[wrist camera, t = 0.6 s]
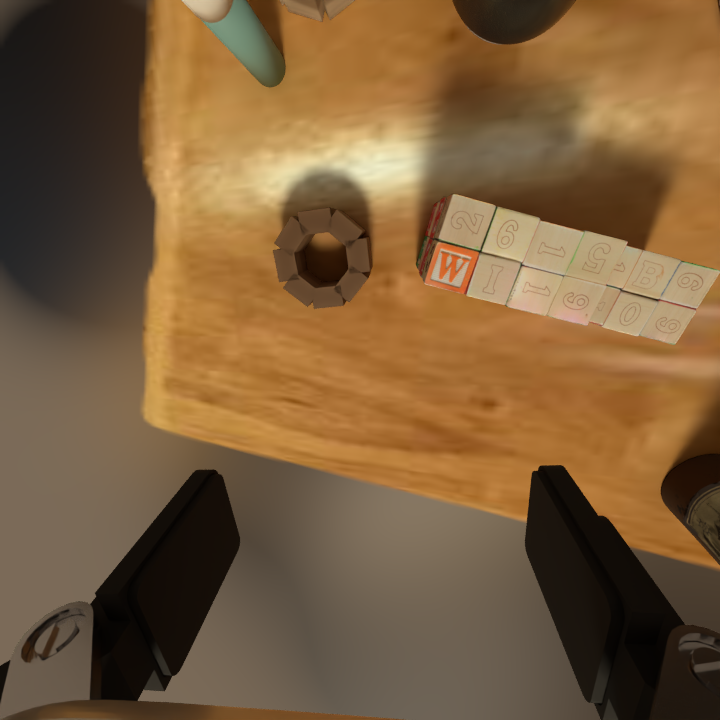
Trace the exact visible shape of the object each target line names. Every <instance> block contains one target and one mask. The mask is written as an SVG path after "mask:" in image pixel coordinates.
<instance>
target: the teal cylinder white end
mask: <svg viewBox="0 0 720 720" xmlns="http://www.w3.org/2000/svg"><path fill="white" fill-rule="evenodd" d="M182 1H183V2H184V3H185V4H186V5H187V7H188V8H189V9H190V10H191V11H192V12H193V13H194V14H195V15H196V16H197V17H198V18H200V19H201V20H202V21H203V22H204V23H205V25H206V26H207V27H208V28H209V29H210V30H211V31H212V32H213V33H214V34H215V35H216V36H217V37H218V38H219V40H220V41H221V42H222V43H223V44H224V45H225V46H226V47H227V48H228V49H229V50H230V51H231V52H232V53H233V54H234V56H235V57H236V58H237V59H238V60H239V61H240V62H241V63H242V64H243V65H244V66H245V67H246V68H247V69H248V71H249V72H250V73H251V74H252V75H253V76H254V77H255V78H256V79H257V80H258V81H259V82H260V83H261V84H262V85H264V86H266V87H274V86H277V85H278V84H279V83H280V82H281V81H282V79H283V77H284V75H285V61H284V58H283V56H282V54H281V53H280V51H279V50H278V48H277V47H276V45H275V44H274V42H273V40H272V39H271V37H270V36H269V34H268V33H267V31H266V30H265V28H264V27H263V25H262V24H261V22H260V21H259V19H258V18H257V16H256V14H255V13H254V11H253V10H252V8H251V7H250V5H249V4H248V2H247V1H246V0H182Z"/></svg>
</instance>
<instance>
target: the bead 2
mask: <svg viewBox="0 0 720 720" xmlns="http://www.w3.org/2000/svg"><path fill="white" fill-rule="evenodd" d="M324 232H329V233H330V234H331V235H333V236H334V237H335V238H336V239H338V240H339V241H340V242H341V243H342V244H344V245H345V246H346V252H347V260H348V268H349V269H348V270H347V272H346V273H345V274H344V276H343V277H342V278H341V280H338V281H329V282H322V281H321V280H320V279H318V278H317V277H316V276H314V275H313V274H312V273H311V272H309V271H308V270H307V264H306V258H305V252H304V250H305V248H306V247H307V245H308V244H309V242H310V241H311V239H312V238H313V236H314V235H315V234H317V233H324ZM365 232H366V231H365V230H364V229H363V228H362V227H361V226H360V225H358V224H357V223H356V222H355V221H354V220H352V219H351V218H350V217H349V216H348V215H346V214H345V213H344V212H343V211H340V210H336V209H333V208H323V209H316V210H309V211H302V212H298V217H296V216H291V218H290V219H289V221H288V222H287V224H286V225H285V227H284V229H283V230H282V232H281V233H280V235H279V236H278V238H277V239H276V241H275V244H276V245H277V246H278V247H280V248H281V249H277V250H273V253H274V258H275V263H276V268H277V273H278V278H279V282H283V281H288V282H287V283H286V284H285V286H284V287H283V288H284V289H285V290H286V291H288V292H289V293H290V294H292V295H293V296H294V297H295V298H297V299H298V300H299V301H301V302H302V303H303V304H305V305H306V306H307V307H308V306H309V305H310V304H311V303H312V302H313V306H314V309H317V308H326V307H336V306H344V304H345V302H346V301H348V302H350V301H351V300H352V298H353V297H354V296H355V294H356V293H357V292H358V291H359V289H360V288H361V287H362V285H363V284H364V283H365V282H366V280H367V279H368V277H369V275H370V272H369V271H370V270H371V269H372V258H371V249H370V240H369V237H365V238H361V237H362V236H363V234H364V233H365Z"/></svg>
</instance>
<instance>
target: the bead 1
mask: <svg viewBox="0 0 720 720" xmlns="http://www.w3.org/2000/svg"><path fill="white" fill-rule="evenodd" d="M353 1H355V0H280V2H281V4H282V6H283V5H284V4H285V5H286V7H287V9H288V11H289V12H292V13H295V14H298V15H302V16H305V17H308V18H311V19H315V20H318V21H321V22H322V21H323V16H324V10H325V11H326V13H327V15H328V17H329V19H330V20H331V19H332V18H333V17H335V16H336V15H337V14H338V13H340V12H341V11H342V10H343V9H345V8H346V7H347V6H348V5H350V4H351V3H352V2H353Z"/></svg>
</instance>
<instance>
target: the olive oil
mask: <svg viewBox="0 0 720 720" xmlns="http://www.w3.org/2000/svg"><path fill="white" fill-rule="evenodd" d="M661 495H662V499H663V502H664V503H665V505H666V506H667V507H668V509H669V510H670V511H671V512H672V513H673V514H674V515H675V516H676V517H677V518H678V519H679V521H680V522H681V523H682V524H683V525H684V526H685V527H686V528H687V529H688V530H689V531H690V532H691V534H692V535H693V536H694V537H695V538H696V539H697V540H698V541H699V542H700V543H701V545H702V546H703V547H704V548H705V549H706V550H707V551H708V552H709V554H710V555H711V556H712V557H713V558H714V559H715V560H716V561H717V563H718V564H719V565H720V455H716V454H713V455H704V456H699V457H695V458H692V459H690V460H687V461H685V462H684V463H682V464H680V465H679V466H677V467H676V468H675V469H673V470H672V471H671V472H670V473H669V475H668V476H667V477H666V479H665V481H664V483H663V485H662V490H661Z"/></svg>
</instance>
